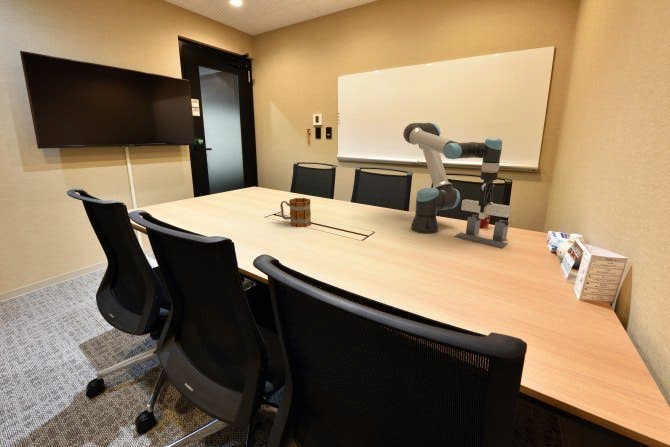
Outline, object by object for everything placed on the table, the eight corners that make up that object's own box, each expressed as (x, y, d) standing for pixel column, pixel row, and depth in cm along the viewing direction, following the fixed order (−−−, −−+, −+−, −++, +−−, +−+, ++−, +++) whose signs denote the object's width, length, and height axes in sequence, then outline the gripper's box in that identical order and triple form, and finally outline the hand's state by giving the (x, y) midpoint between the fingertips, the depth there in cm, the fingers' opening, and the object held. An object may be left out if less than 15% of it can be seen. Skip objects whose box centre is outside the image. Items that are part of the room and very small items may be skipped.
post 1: (465, 234, 171) (467, 217, 168) (470, 231, 176) (473, 214, 173) (473, 236, 168) (476, 218, 165) (478, 233, 173) (481, 216, 170)
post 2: (492, 240, 161) (495, 222, 158) (497, 237, 166) (499, 219, 163) (501, 242, 158) (504, 224, 156) (506, 239, 163) (509, 221, 160)
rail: (461, 209, 164) (462, 200, 162) (464, 208, 166) (465, 199, 165) (506, 217, 149) (507, 207, 147) (509, 215, 151) (510, 205, 150)
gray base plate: (454, 236, 167) (454, 235, 167) (460, 233, 173) (460, 232, 173) (501, 248, 151) (502, 247, 151) (507, 244, 157) (507, 243, 156)
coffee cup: (491, 229, 179) (495, 204, 175) (476, 228, 181) (479, 203, 176) (487, 225, 187) (491, 200, 183) (473, 224, 189) (476, 200, 184)
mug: (314, 222, 195) (314, 198, 190) (307, 228, 182) (306, 203, 178) (286, 219, 200) (285, 196, 196) (276, 225, 188) (275, 201, 183)
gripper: (491, 173, 143) (484, 222, 150) (503, 170, 155) (497, 215, 161) (474, 172, 148) (469, 219, 155) (488, 169, 160) (482, 213, 167)
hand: (483, 217), depth 158 cm, fingers closed on rail, 4 cm apart
